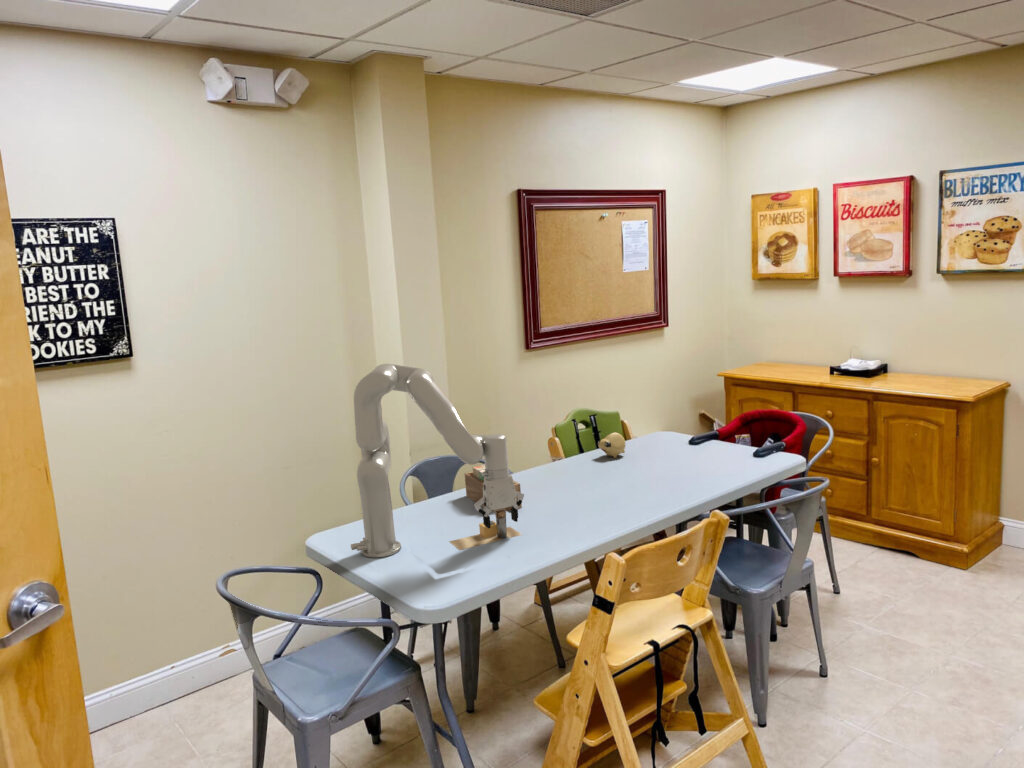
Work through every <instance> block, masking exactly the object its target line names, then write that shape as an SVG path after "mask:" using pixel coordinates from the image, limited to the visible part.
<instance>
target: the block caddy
mask: <svg viewBox="0 0 1024 768" xmlns="http://www.w3.org/2000/svg"><path fill="white" fill-rule="evenodd" d="M464 482H465V494H466V497H468V498H469V499H470V500H471V501H474V502H475V503H476V502H478V501H479V500H480V499H481V498H483V484H484V483H483V482H482V481H480V480H478V479H476V478H475V477H473V471H471V472H469V471H468V472H465V473H464ZM513 482H514V486H515V491H516V492H519V493H522V492H521V484H520V482H517V481H515V480H514V479H513ZM516 499H518V496H516ZM522 503H523V502H522ZM522 503H521V505H520V506H519V509H521V508H522V507H523V506H522ZM480 507H483V508H484V507H485V506H484V503H483V504H482V505H481V506H480ZM511 508H512V506H511V507H507V508H503V509H506V512H509V511H511ZM492 512H495V510H493V511H492V510H491V511H490V513H492Z"/></svg>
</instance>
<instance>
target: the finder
mask: <svg viewBox="0 0 1024 768" xmlns="http://www.w3.org/2000/svg"><path fill="white" fill-rule="evenodd" d="M490 525H491V528H487V527H486V526H485V525H484V523H483V522H481V523H480V522H479V525H478V527H479V534H481V535H482V536H483V537H489V536H493V535H496V536H497V525H496V522H495V520H490Z"/></svg>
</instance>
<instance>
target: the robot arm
mask: <svg viewBox="0 0 1024 768" xmlns="http://www.w3.org/2000/svg"><path fill="white" fill-rule="evenodd" d="M434 380H435V379H434V377H433V375H432V373H431V372H430V371H428V370H427V369H425V368H419V367H413V366H405V365H400V364H393V363H383V364H378V366H376V367H375V368H374V369H373V370H371V372H369V373H368V374H366V375H365V376H363V377H362V378H361V379H360V380H359V381H358V383H357V385H356V386H355V389H354V393H353V408H354V409H353V410H354V411H353V413H354V427H355V429H354V430H355V441H356V442H355V443H356V444H357V446H358V447H359V449H360V452H361V459H360V461H359V464H358V466H357V469H356V479H357V486H358V489H359V496H360V505H361V512H362V513H361V514H362V521H363V522H362V523H363V531H364V537H362V540H360V541H359V542H354V543H350V549H351V551H355V550H356V551H357V552H360V551H361V554H362V555H363V556H365V557H368V558H375V559H376V558H384V557H389V556H391V555H394V554H397V553H398V552H400V550H401V549H402V544H401V542H399V541H398V540H396V532H395V531H396V530H395V521H394V520H395V519H394V512H393V504H392V503H393V502H392V494H391V486H390V480H389V472H390V469H391V467H392V466H391V465H392V454H391V444H390V443H391V442H390V430H389V427H388V424H387V422H386V421H385V420H384V419H383V408H382V399H383V397H384V396H385V395H387V394H389V393H390V392H392V391H396V392H403V393H407V394H408V396H410V398H411V399H412V400H413V401H414V402H415V404H416V405H417V406H418V407H419V408H420V410H421V411H422V412H423V413H424V415H425V416H426V417H427V418H428V419H429V420H430V422H431V423H432V424H433V426H434V427H435V429H436V430H437V432H438V433H439V434H440V435H441V437H442V438H443V440H444V441H445V442H446V444H447V445H448V446H449V448H450V449H451V450H452V452H453V453H455V454H456V456H457V457H458V458H459V460H460V461H462V462H463V463H464V464H467V465H476V464H478V463H479V462H481V460H483V458H484V465H485V471H484V472H482V476H485V477H486V478H484V484H483V498H481V499H480V500H479V501H478V502H475V503H474V504H473V505H474V508H475V509H476V511H477V512H478V513H479V514H481V515H482V523H484V525H485V526H486V527H487V528H491V525H490V521H491V517H490V513H491V510H492V512H494V511H493V510H498V509H503V508H507V507H511V506H512V508H511V510H510V516H511V520H512V521H514V522H515V523H517V522H518V521H519V520H518V519H519V509H520V508H519V506H520V505H521V503H523V501H524V497H525V493H522V492H521V493H519V492H516V491H515V486H514V482H513V480H514V479H513V475H511V474H510V467H509V453H508V452H509V451H508V442H507V436H506V435H504V434H502V433H491V434H488V435H487V434H486V435H485V434H471V433H470V432H469V431H468V430H467V428H466V426H465V425H464V424H463V422H462V420H461V418H460V416H459V414H458V412H457V409H456V407H455V406H454V404H453V403H452V402H451V401H450V400H449V398H448V397H447V396H446V394H444V392H442V390H441V389H440V387H439V386H438V385H437V384H436V382H434ZM516 496H518V499H516ZM483 503H484V506H485V507H483V509H482V506H481V505H482V504H483Z"/></svg>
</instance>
